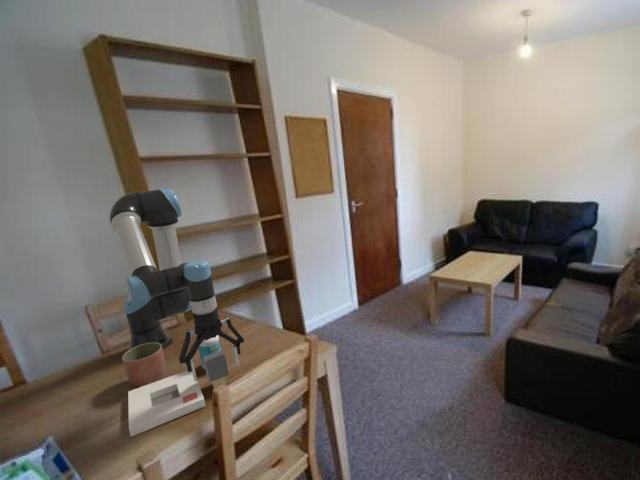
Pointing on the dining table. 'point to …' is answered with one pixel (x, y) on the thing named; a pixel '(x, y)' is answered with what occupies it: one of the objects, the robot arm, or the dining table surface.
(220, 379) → the plug
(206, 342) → the pill bottle
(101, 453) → the dining table surface
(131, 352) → the planter
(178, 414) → the socket plate
